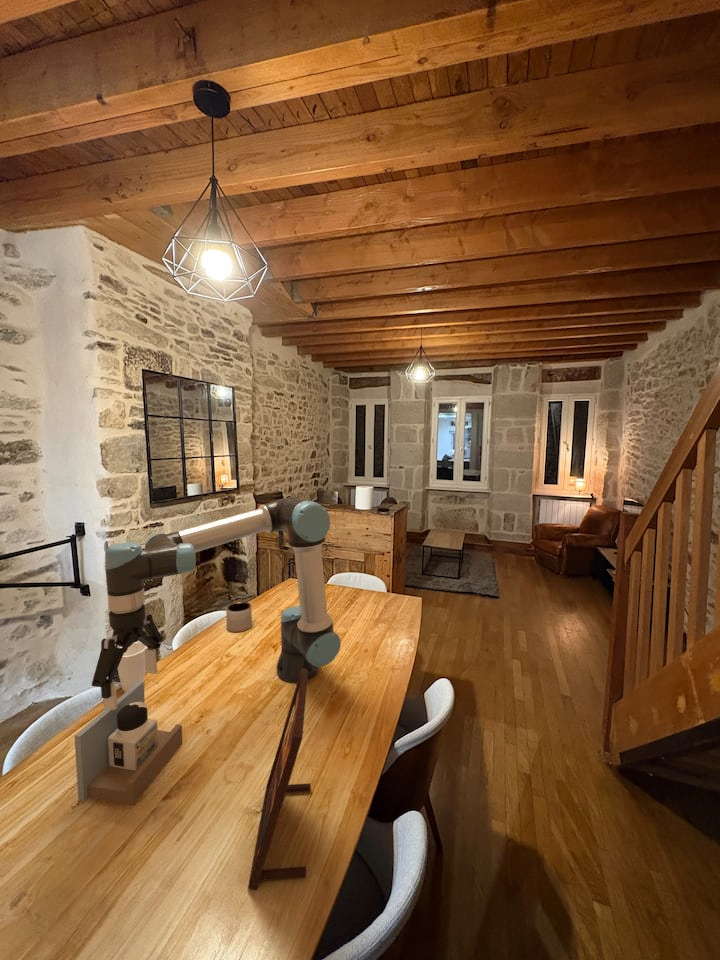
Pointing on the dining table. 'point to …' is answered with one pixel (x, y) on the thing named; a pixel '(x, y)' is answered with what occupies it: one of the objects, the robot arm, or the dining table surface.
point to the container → (132, 737)
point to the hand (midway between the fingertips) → (132, 689)
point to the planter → (239, 616)
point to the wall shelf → (94, 757)
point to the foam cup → (132, 666)
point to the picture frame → (281, 788)
